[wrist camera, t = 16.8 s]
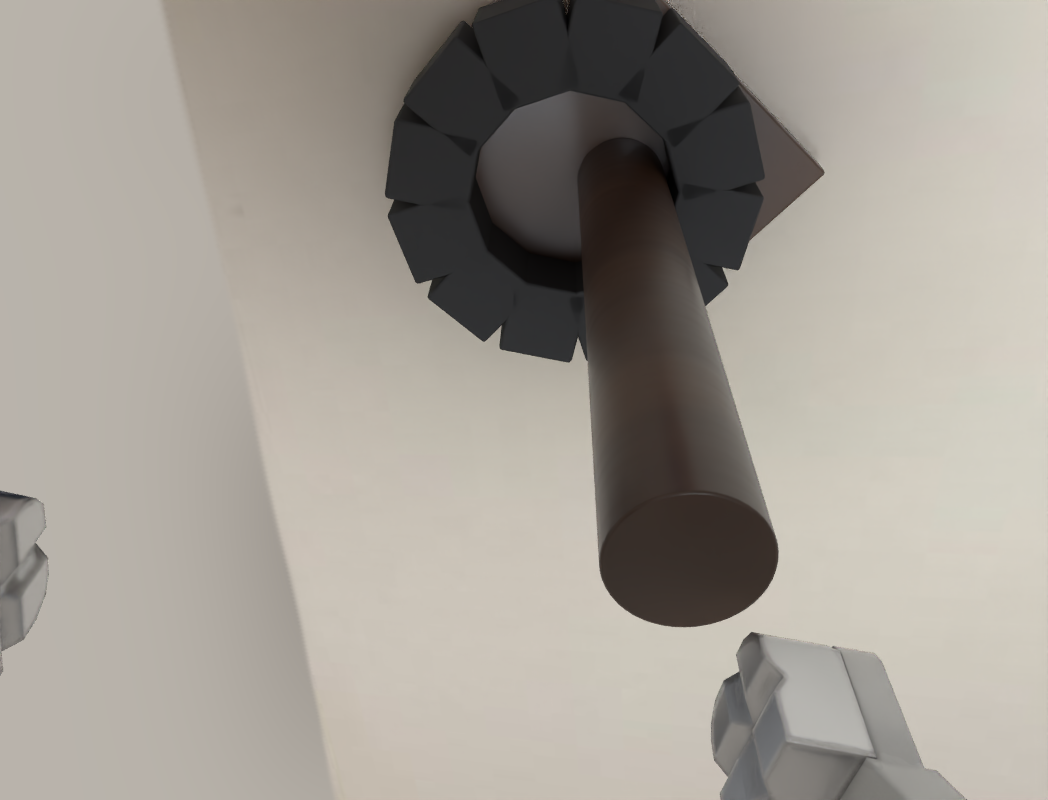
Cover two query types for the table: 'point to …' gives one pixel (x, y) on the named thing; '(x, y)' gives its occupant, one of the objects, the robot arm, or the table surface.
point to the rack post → (647, 348)
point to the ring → (536, 74)
